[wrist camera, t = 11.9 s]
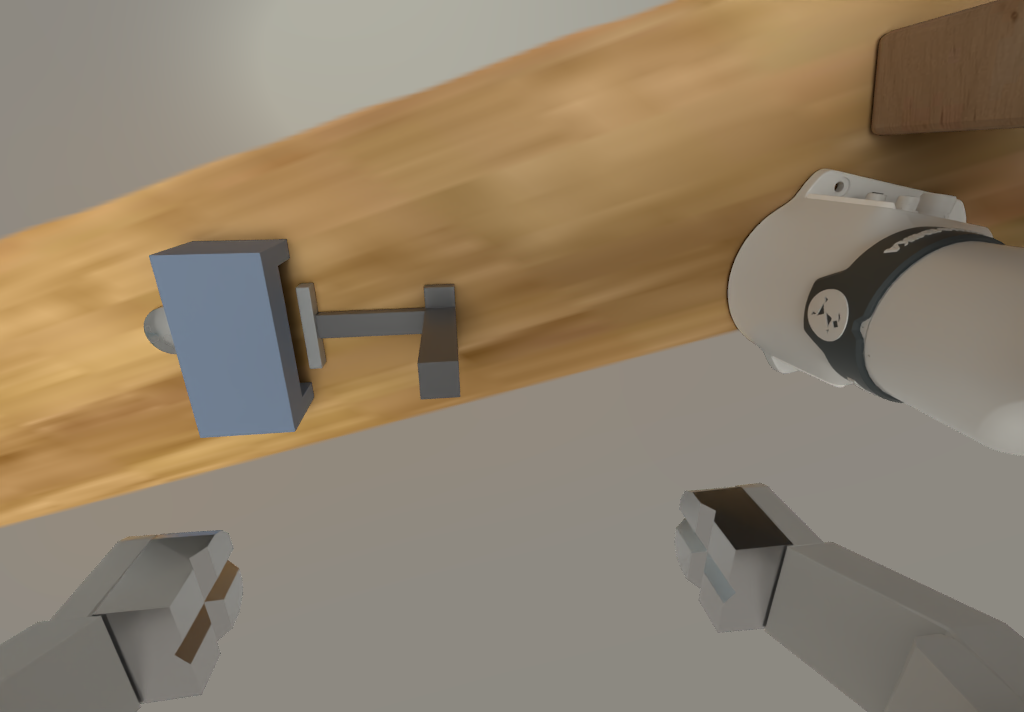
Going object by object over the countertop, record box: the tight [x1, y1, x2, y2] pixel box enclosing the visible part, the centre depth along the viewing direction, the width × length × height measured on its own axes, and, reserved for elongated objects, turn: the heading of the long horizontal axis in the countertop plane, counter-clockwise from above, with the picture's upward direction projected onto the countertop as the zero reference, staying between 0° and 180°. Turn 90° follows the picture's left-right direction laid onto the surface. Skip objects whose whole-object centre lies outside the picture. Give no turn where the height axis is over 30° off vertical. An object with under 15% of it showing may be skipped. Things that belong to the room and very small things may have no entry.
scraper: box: [296, 283, 460, 399], centre depth 36 cm, size 12×7×13 cm, turn 91°
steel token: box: [144, 306, 177, 354], centre depth 40 cm, size 4×4×1 cm
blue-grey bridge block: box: [149, 239, 314, 438], centre depth 38 cm, size 7×14×6 cm, turn 1°
